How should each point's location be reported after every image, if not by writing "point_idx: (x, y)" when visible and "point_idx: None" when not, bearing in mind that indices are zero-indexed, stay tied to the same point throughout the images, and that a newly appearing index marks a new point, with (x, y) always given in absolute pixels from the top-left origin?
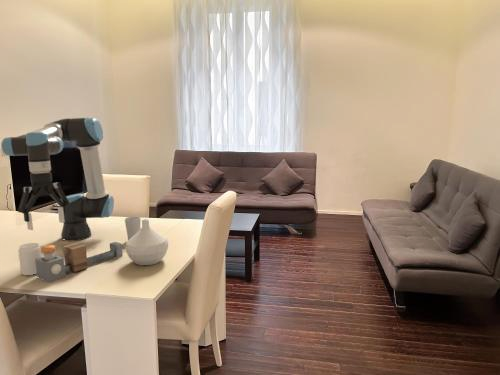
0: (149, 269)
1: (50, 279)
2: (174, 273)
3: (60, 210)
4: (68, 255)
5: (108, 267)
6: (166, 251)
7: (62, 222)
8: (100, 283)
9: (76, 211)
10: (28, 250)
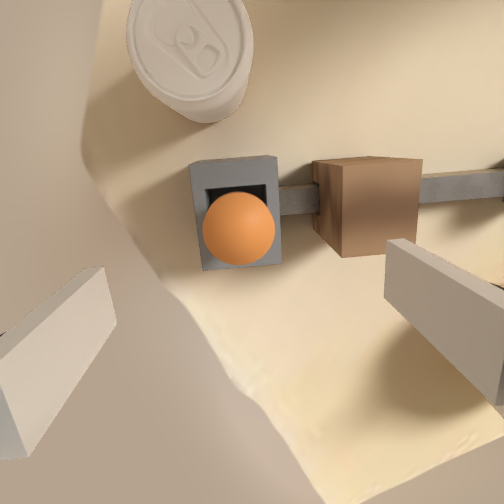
0: (462, 382)
1: None
2: (470, 449)
3: (463, 348)
4: (330, 206)
5: None
6: None
7: (385, 295)
8: (311, 370)
9: None
10: (168, 102)
